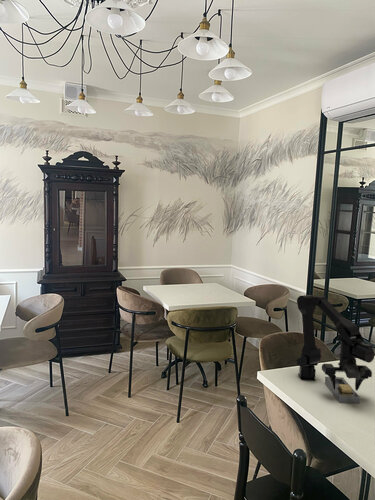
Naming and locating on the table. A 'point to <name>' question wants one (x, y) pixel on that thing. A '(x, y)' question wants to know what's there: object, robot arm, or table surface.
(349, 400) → the grey slotted block
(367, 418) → the table surface
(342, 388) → the brass block
